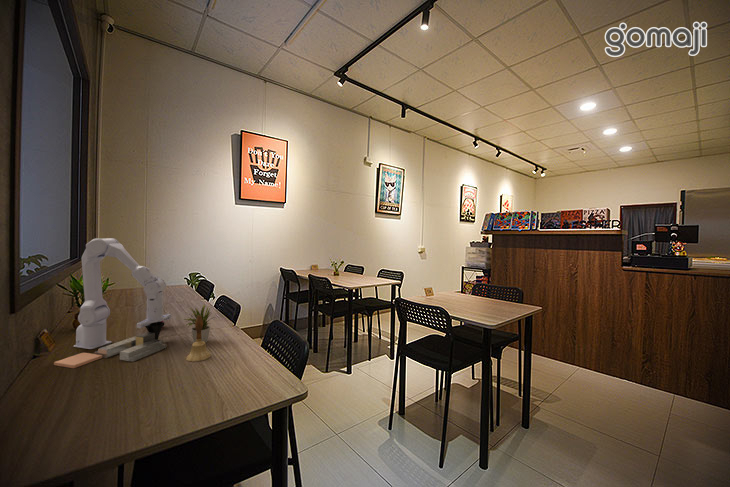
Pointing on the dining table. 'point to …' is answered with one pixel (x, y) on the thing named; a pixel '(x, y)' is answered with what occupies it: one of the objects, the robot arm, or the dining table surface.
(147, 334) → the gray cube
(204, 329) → the house plant
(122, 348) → the parallel gray bars
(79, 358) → the pad
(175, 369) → the dining table surface
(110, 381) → the dining table surface
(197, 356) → the hand bell
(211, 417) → the dining table surface
